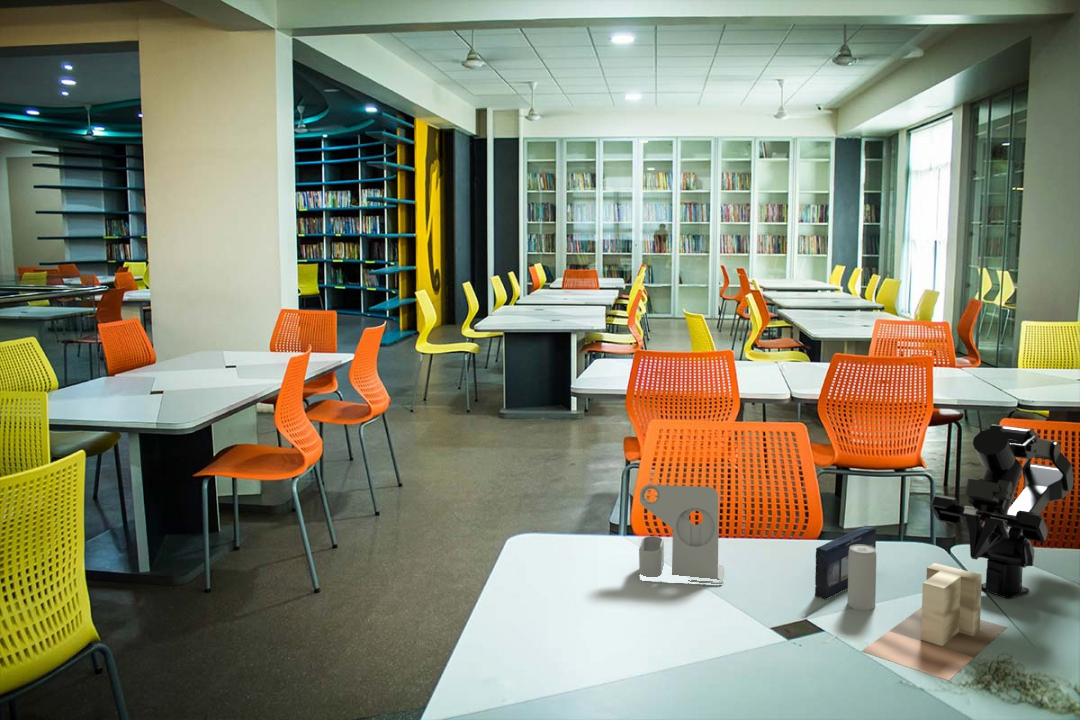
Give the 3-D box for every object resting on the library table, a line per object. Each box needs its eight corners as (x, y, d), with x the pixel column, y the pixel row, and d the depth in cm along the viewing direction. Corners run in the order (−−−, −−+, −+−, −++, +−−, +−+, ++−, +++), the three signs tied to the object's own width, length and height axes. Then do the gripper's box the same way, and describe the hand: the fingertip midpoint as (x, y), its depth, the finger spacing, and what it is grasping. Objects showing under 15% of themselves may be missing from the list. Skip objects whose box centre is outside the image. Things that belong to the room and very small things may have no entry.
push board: (925, 610, 161) (925, 604, 160) (1007, 633, 151) (1007, 627, 150) (861, 657, 144) (861, 651, 144) (948, 687, 134) (948, 680, 133)
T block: (932, 616, 155) (934, 562, 154) (979, 630, 150) (981, 574, 148) (907, 635, 149) (909, 579, 147) (956, 650, 143) (958, 592, 141)
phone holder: (636, 581, 178) (634, 496, 176) (642, 563, 188) (640, 482, 186) (723, 586, 174) (722, 499, 172) (724, 568, 184) (724, 485, 182)
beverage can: (877, 617, 159) (878, 553, 157) (849, 615, 160) (850, 552, 158) (872, 606, 163) (874, 544, 162) (845, 604, 164) (846, 543, 163)
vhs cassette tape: (825, 600, 167) (826, 550, 165) (812, 596, 169) (812, 546, 168) (877, 575, 178) (878, 528, 177) (864, 571, 180) (865, 524, 179)
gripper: (935, 452, 164) (908, 524, 158) (1045, 469, 150) (1020, 548, 145) (951, 484, 170) (925, 554, 164) (1057, 503, 157) (1034, 579, 151)
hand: (973, 558), depth 156 cm, fingers closed
